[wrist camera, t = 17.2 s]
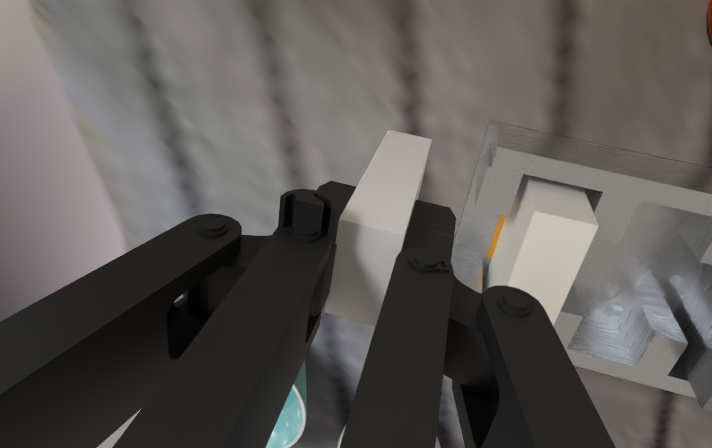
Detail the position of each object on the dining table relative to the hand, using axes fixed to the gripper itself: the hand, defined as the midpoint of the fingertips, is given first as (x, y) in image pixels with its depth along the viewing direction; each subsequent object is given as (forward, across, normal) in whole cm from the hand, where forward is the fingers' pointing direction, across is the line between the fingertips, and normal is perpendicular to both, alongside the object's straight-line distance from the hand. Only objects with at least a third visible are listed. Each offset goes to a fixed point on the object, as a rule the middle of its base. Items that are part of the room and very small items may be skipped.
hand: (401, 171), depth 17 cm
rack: (+24, +18, -13) cm, 33 cm away
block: (+23, +10, -13) cm, 28 cm away
